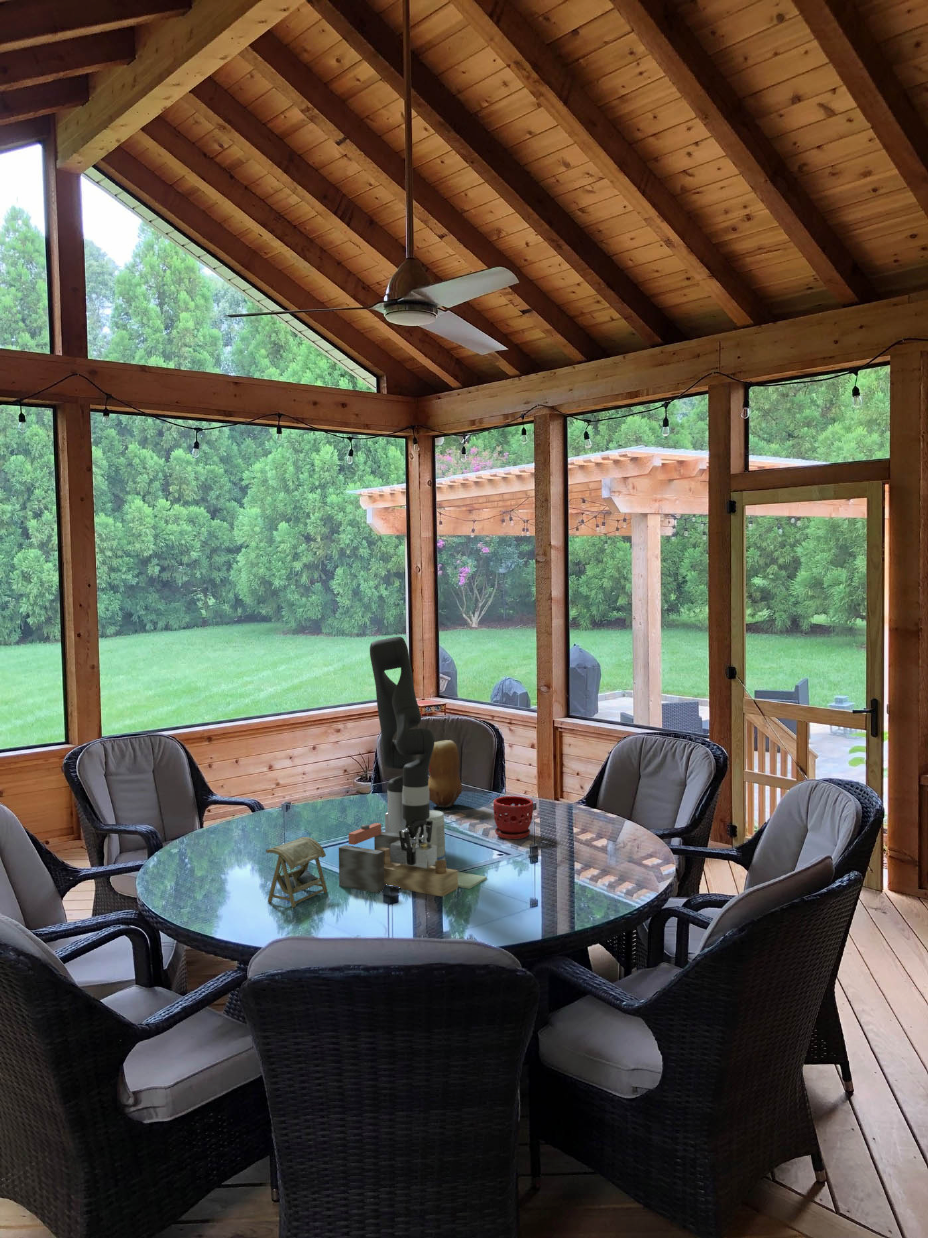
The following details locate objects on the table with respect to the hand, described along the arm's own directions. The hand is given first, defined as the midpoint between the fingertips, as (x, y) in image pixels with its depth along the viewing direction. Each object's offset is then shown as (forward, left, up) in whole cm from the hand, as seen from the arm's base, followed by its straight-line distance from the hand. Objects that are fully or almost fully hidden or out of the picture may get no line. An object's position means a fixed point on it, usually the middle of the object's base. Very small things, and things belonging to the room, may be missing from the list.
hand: (416, 861), depth 265 cm
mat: (+9, +10, -7) cm, 15 cm away
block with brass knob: (-1, 0, 0) cm, 1 cm away
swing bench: (-23, -23, -7) cm, 33 cm away
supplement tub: (-9, +21, -7) cm, 24 cm away
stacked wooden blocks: (-4, 0, -7) cm, 8 cm away
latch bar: (-17, 0, +4) cm, 18 cm away
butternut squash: (-41, +83, -7) cm, 93 cm away
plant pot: (0, +59, -7) cm, 59 cm away
